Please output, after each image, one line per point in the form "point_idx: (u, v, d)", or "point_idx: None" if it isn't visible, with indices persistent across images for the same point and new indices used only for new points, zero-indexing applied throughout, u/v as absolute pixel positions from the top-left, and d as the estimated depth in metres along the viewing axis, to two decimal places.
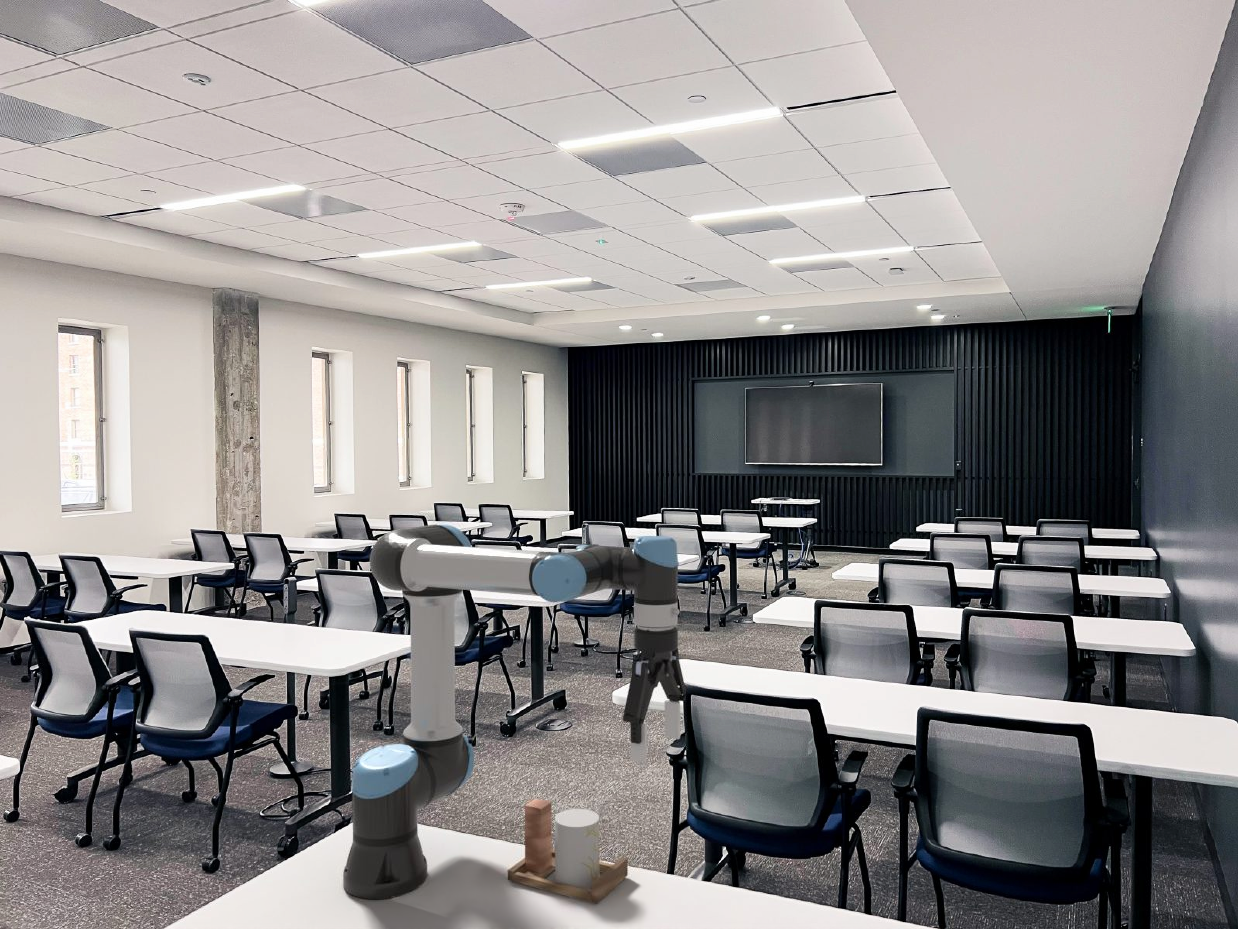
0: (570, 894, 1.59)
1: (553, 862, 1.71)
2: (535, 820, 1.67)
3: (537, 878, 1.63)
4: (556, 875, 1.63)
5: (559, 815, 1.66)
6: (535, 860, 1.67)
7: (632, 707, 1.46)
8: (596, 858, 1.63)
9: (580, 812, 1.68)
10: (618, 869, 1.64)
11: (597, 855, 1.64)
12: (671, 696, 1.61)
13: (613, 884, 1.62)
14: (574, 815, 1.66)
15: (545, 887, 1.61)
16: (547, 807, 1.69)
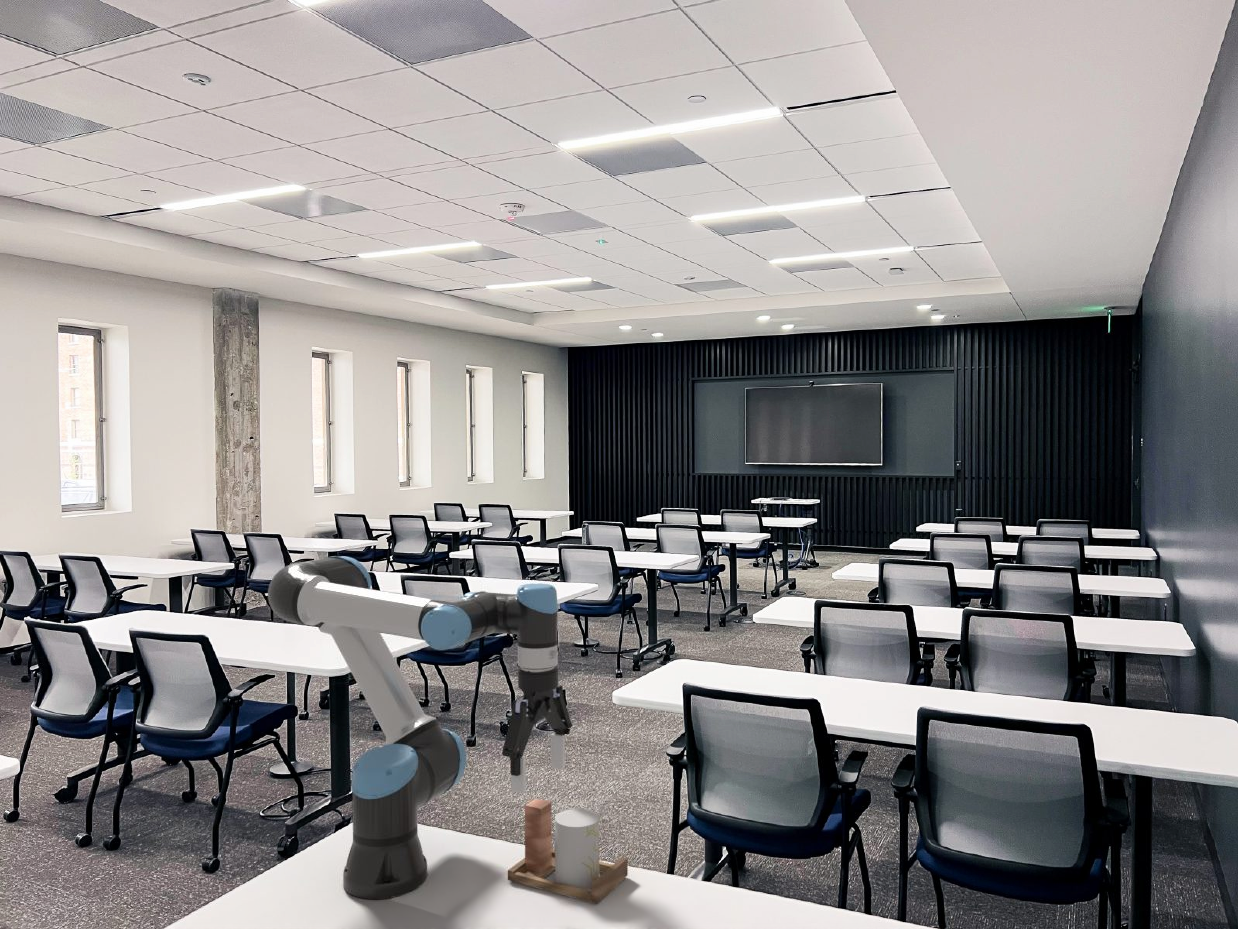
0: (570, 894, 1.59)
1: (553, 862, 1.71)
2: (535, 820, 1.67)
3: (537, 878, 1.63)
4: (556, 875, 1.63)
5: (559, 815, 1.66)
6: (535, 860, 1.67)
7: (510, 743, 1.60)
8: (596, 858, 1.63)
9: (580, 812, 1.68)
10: (618, 869, 1.64)
11: (597, 855, 1.64)
12: (557, 730, 1.75)
13: (613, 884, 1.62)
14: (574, 815, 1.66)
15: (545, 887, 1.61)
16: (547, 807, 1.69)
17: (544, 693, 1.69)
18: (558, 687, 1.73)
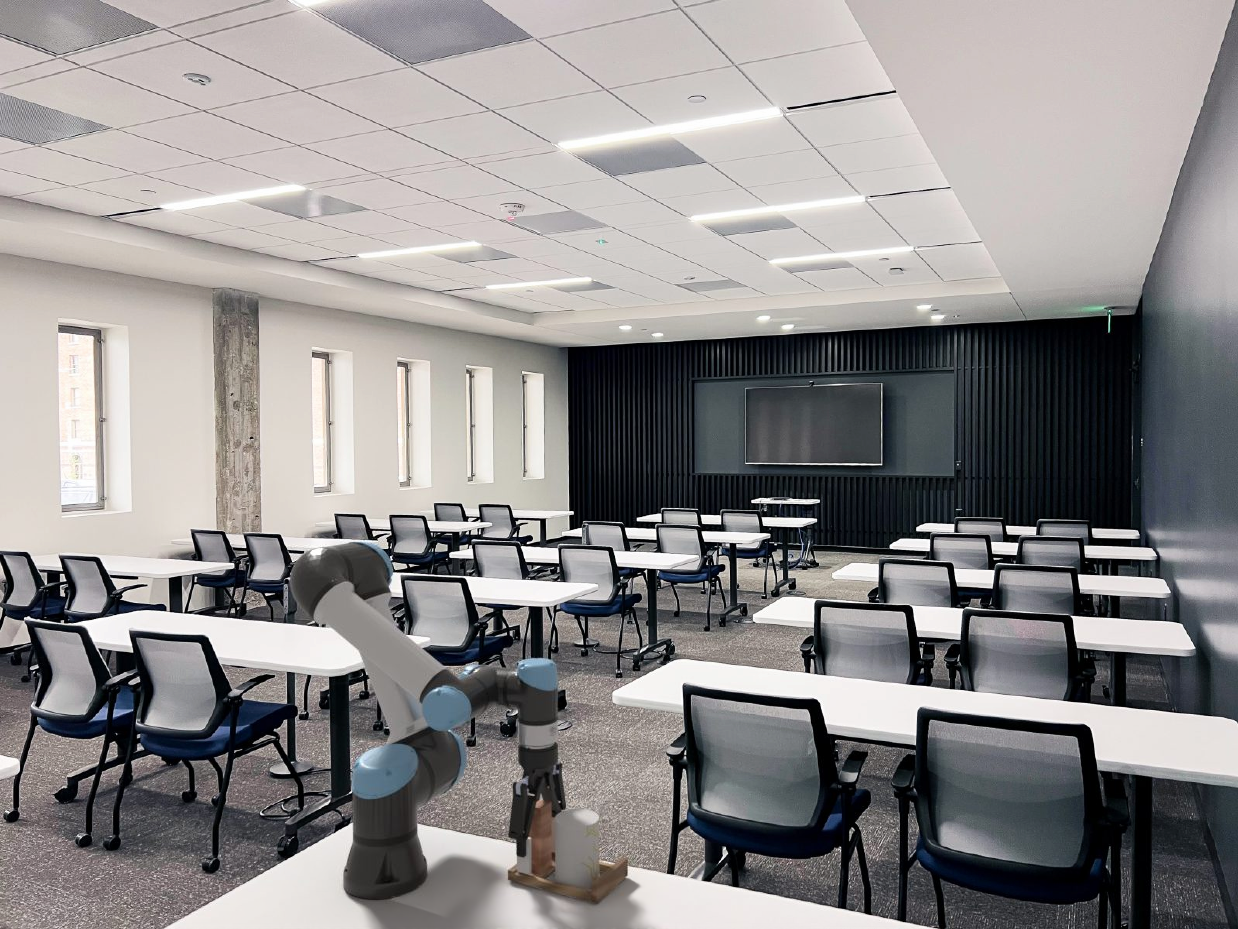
0: (570, 894, 1.59)
1: (553, 862, 1.71)
2: (535, 820, 1.67)
3: (537, 878, 1.63)
4: (556, 875, 1.63)
5: (559, 815, 1.66)
6: (535, 860, 1.67)
7: (515, 826, 1.62)
8: (596, 858, 1.63)
9: (580, 812, 1.68)
10: (619, 869, 1.64)
11: (597, 855, 1.64)
12: None
13: (613, 884, 1.62)
14: (574, 815, 1.66)
15: (545, 887, 1.61)
16: (547, 807, 1.68)
17: (544, 769, 1.69)
18: (558, 764, 1.74)
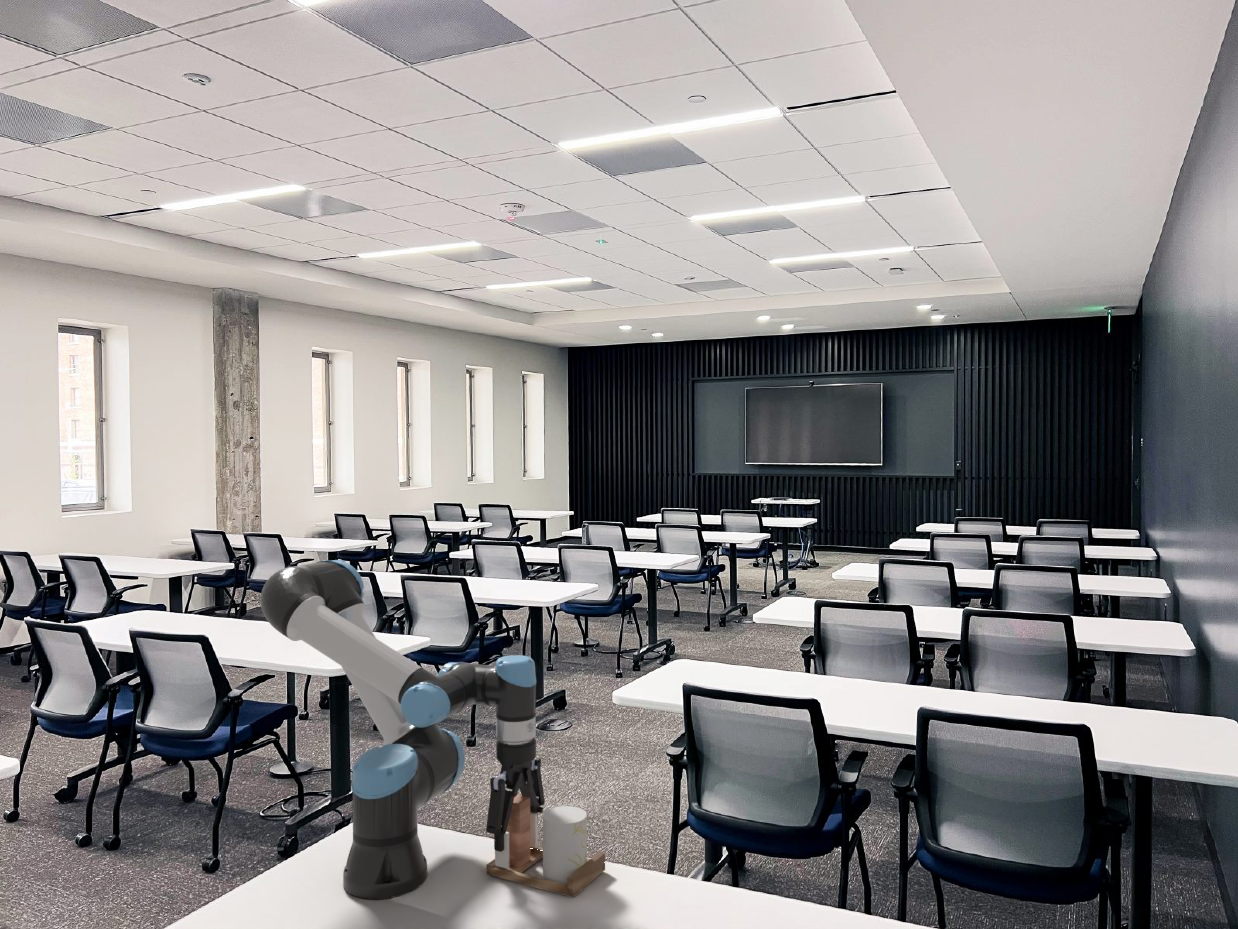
0: (547, 888, 1.61)
1: (532, 857, 1.73)
2: (514, 815, 1.69)
3: (515, 873, 1.65)
4: (544, 871, 1.65)
5: (547, 812, 1.67)
6: (513, 854, 1.70)
7: (493, 821, 1.64)
8: (583, 855, 1.64)
9: (568, 809, 1.69)
10: (596, 863, 1.66)
11: (584, 852, 1.65)
12: (530, 808, 1.76)
13: (590, 878, 1.64)
14: (562, 812, 1.67)
15: (523, 881, 1.64)
16: (526, 802, 1.71)
17: (522, 764, 1.71)
18: (537, 760, 1.76)
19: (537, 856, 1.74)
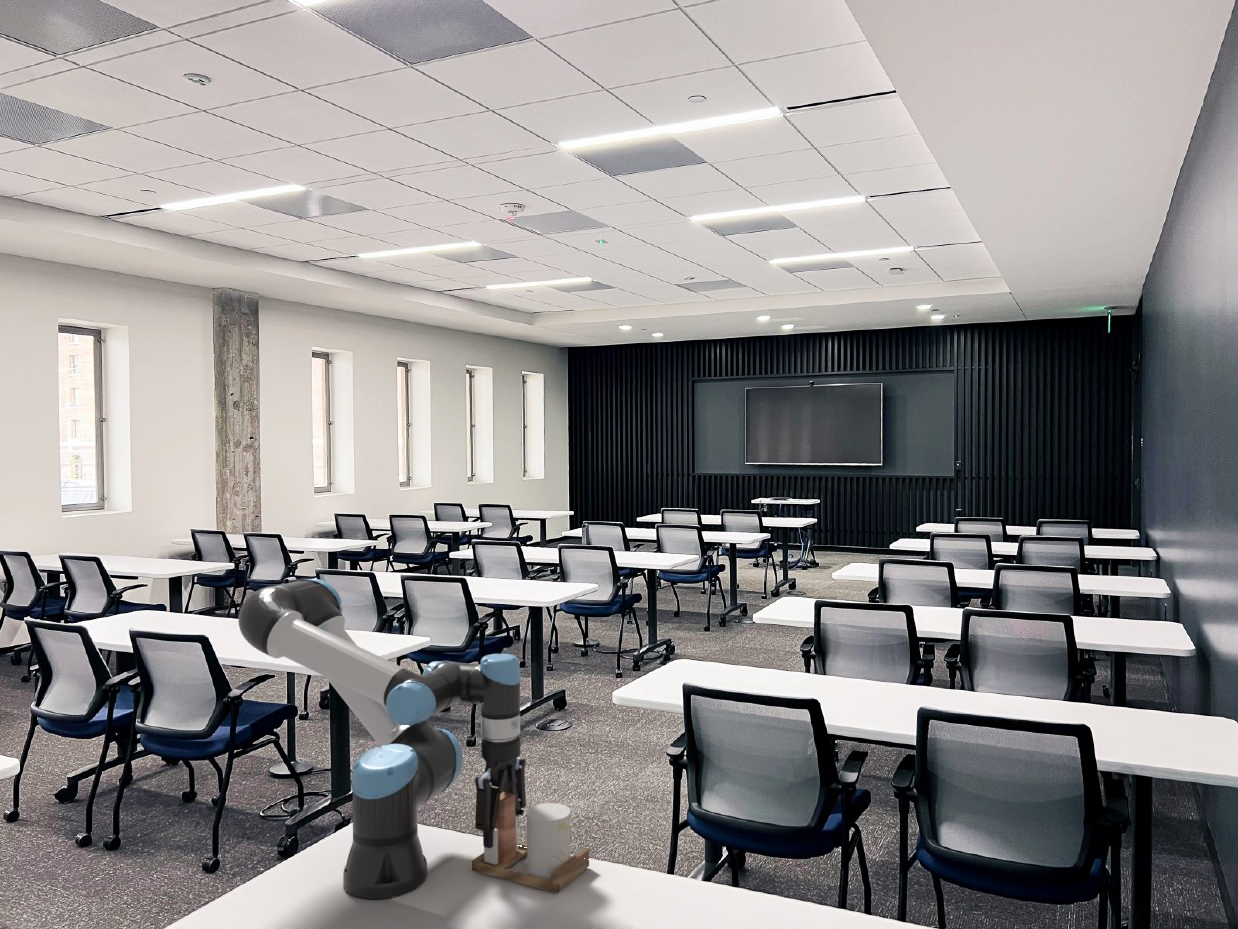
0: (531, 884, 1.63)
1: (517, 853, 1.75)
2: (499, 812, 1.71)
3: (499, 869, 1.67)
4: (528, 868, 1.66)
5: (531, 809, 1.69)
6: (498, 851, 1.71)
7: (481, 818, 1.67)
8: (567, 851, 1.66)
9: (551, 806, 1.70)
10: (579, 859, 1.68)
11: (568, 848, 1.67)
12: None
13: (574, 874, 1.66)
14: (545, 809, 1.69)
15: (507, 877, 1.65)
16: (511, 799, 1.72)
17: (507, 761, 1.73)
18: (522, 759, 1.78)
19: (522, 852, 1.75)
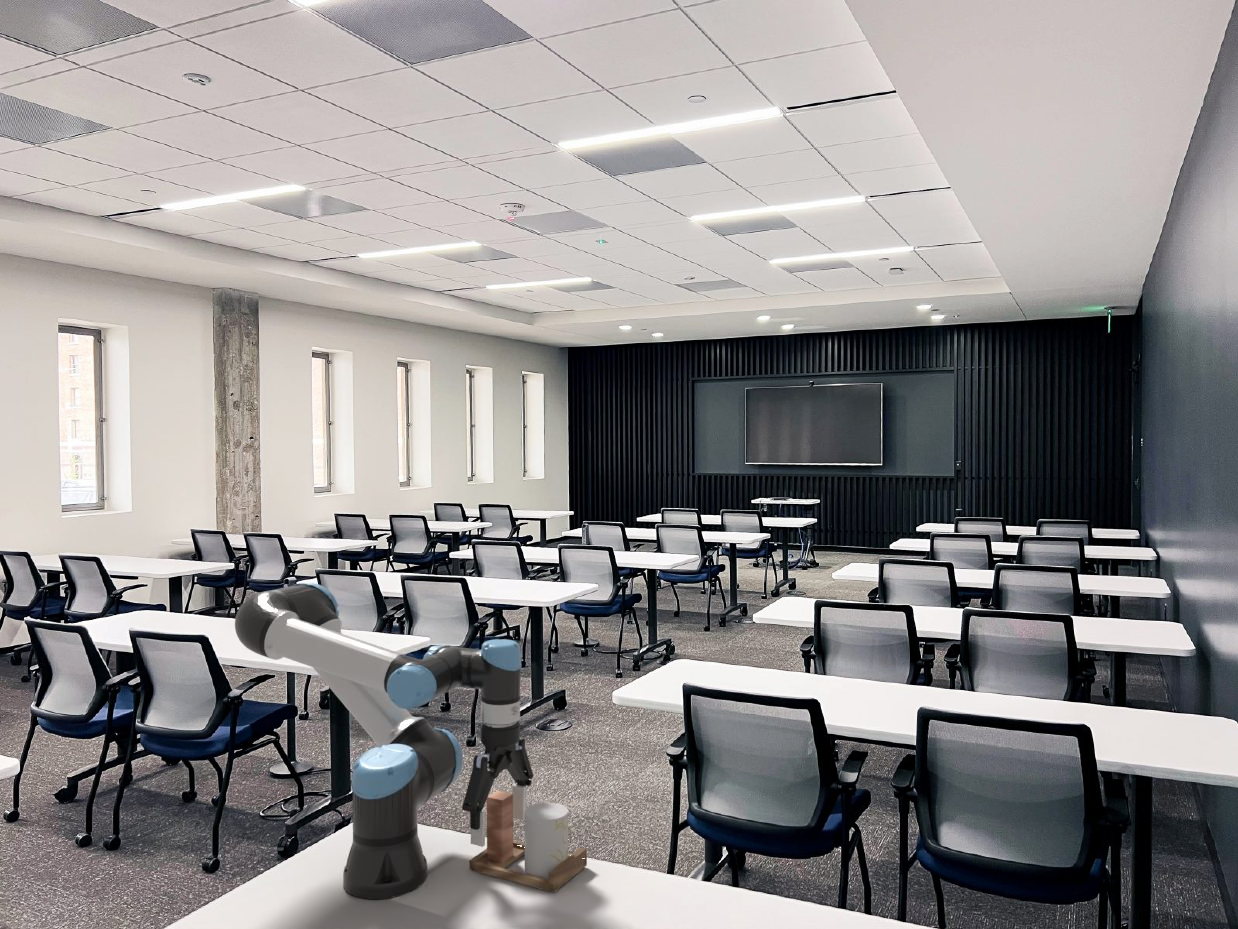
0: (529, 883, 1.63)
1: (515, 852, 1.75)
2: (496, 811, 1.71)
3: (497, 868, 1.67)
4: (526, 867, 1.66)
5: (528, 809, 1.69)
6: (496, 850, 1.71)
7: (470, 798, 1.65)
8: (564, 851, 1.66)
9: (549, 805, 1.71)
10: (577, 858, 1.68)
11: (566, 848, 1.67)
12: (518, 781, 1.79)
13: (571, 873, 1.66)
14: (543, 809, 1.69)
15: (505, 877, 1.66)
16: (508, 799, 1.73)
17: (506, 747, 1.73)
18: (520, 740, 1.77)
19: (520, 852, 1.75)
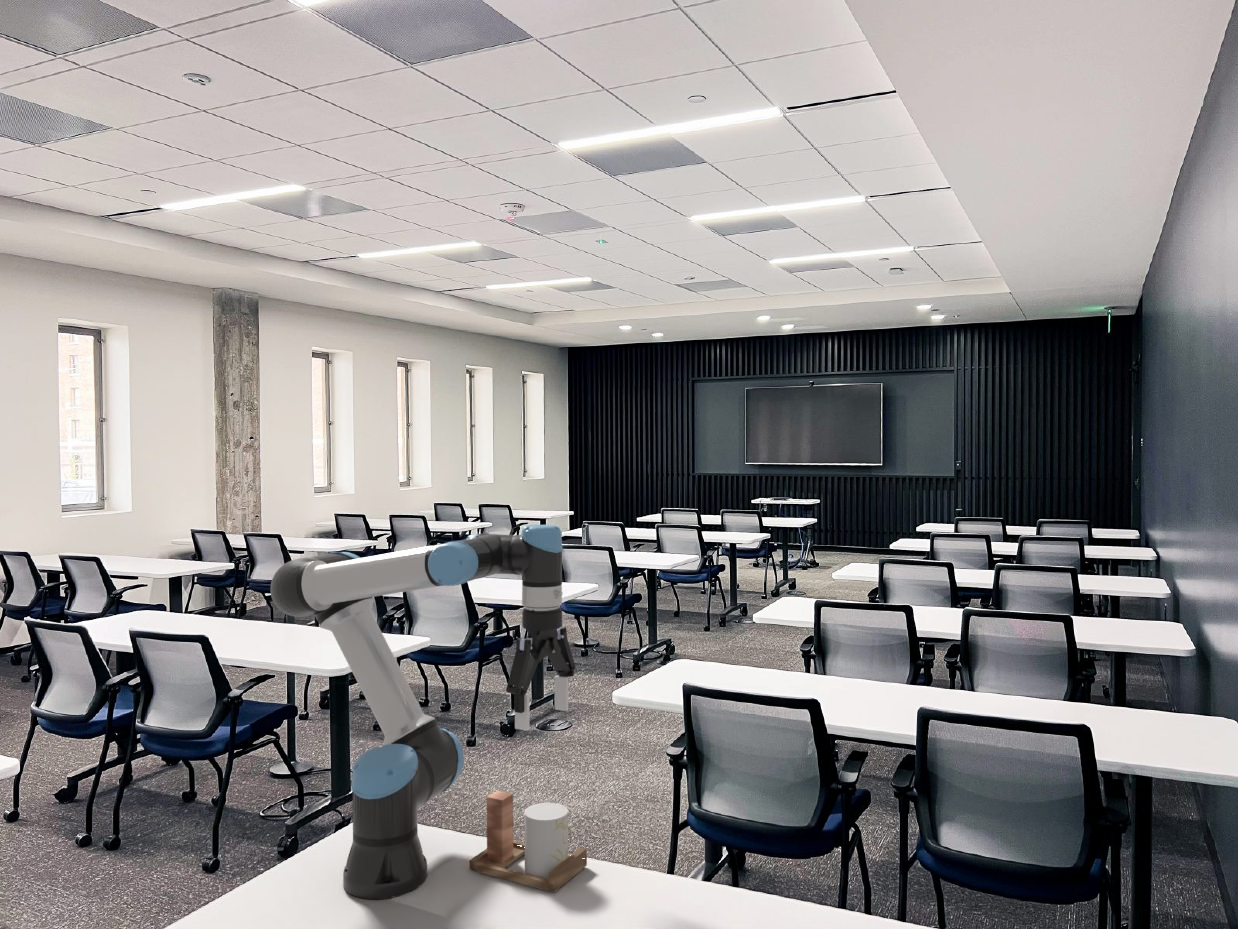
0: (529, 883, 1.63)
1: (515, 852, 1.75)
2: (496, 811, 1.71)
3: (497, 868, 1.67)
4: (526, 867, 1.66)
5: (528, 809, 1.69)
6: (496, 850, 1.71)
7: (514, 679, 1.61)
8: (564, 851, 1.66)
9: (549, 805, 1.71)
10: (577, 858, 1.68)
11: (566, 848, 1.67)
12: (560, 672, 1.76)
13: (571, 873, 1.66)
14: (543, 809, 1.69)
15: (505, 877, 1.66)
16: (508, 799, 1.73)
17: (548, 633, 1.69)
18: (562, 629, 1.74)
19: (520, 852, 1.75)
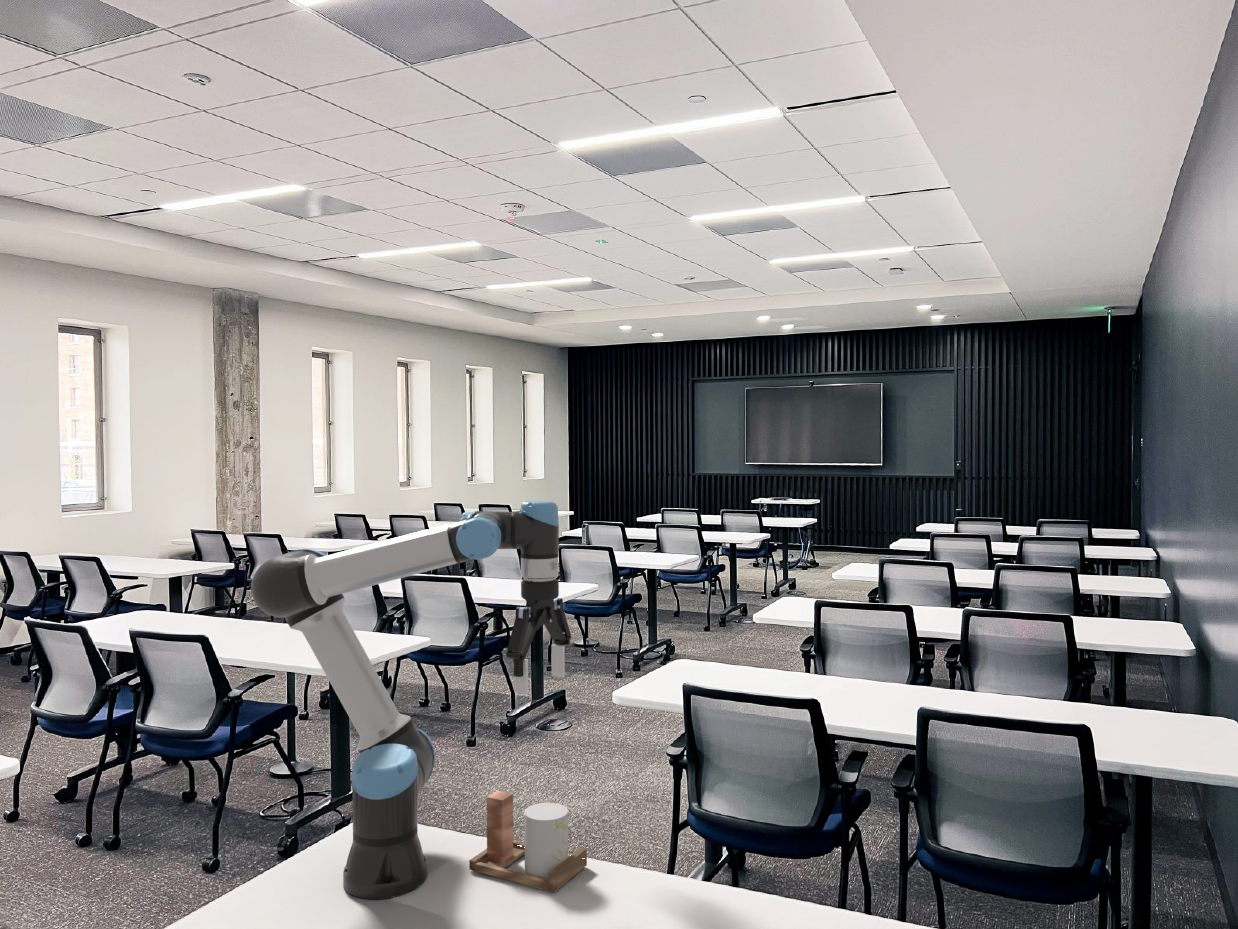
0: (529, 883, 1.63)
1: (515, 852, 1.75)
2: (496, 811, 1.71)
3: (497, 868, 1.67)
4: (526, 867, 1.66)
5: (528, 809, 1.69)
6: (496, 850, 1.71)
7: (514, 645, 1.71)
8: (564, 851, 1.66)
9: (549, 805, 1.71)
10: (577, 858, 1.68)
11: (566, 848, 1.67)
12: (557, 640, 1.86)
13: (571, 873, 1.66)
14: (543, 809, 1.69)
15: (505, 877, 1.66)
16: (508, 799, 1.73)
17: (545, 603, 1.79)
18: (559, 599, 1.84)
19: (520, 852, 1.75)
